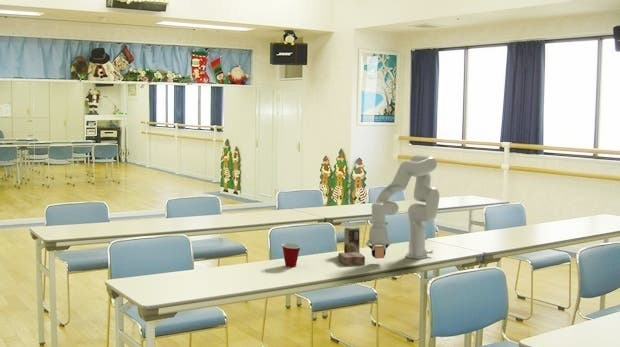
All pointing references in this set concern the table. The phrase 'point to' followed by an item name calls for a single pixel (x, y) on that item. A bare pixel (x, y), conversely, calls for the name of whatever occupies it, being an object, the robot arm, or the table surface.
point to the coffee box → (351, 240)
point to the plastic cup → (290, 254)
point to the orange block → (379, 252)
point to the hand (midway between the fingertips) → (378, 256)
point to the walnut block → (351, 258)
